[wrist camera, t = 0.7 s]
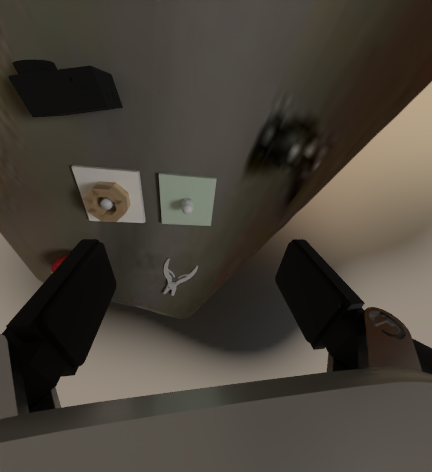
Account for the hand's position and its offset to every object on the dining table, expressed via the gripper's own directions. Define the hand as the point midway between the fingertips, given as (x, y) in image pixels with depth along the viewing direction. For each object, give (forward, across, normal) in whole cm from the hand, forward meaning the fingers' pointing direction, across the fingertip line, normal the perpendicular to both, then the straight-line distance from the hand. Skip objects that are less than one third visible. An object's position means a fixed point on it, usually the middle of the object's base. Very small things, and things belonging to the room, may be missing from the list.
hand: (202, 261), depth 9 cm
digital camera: (+32, +17, -8) cm, 37 cm away
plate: (+32, +1, +10) cm, 34 cm away
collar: (+31, +17, +10) cm, 37 cm away
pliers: (+34, +5, +37) cm, 50 cm away
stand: (+32, +17, +10) cm, 38 cm away
